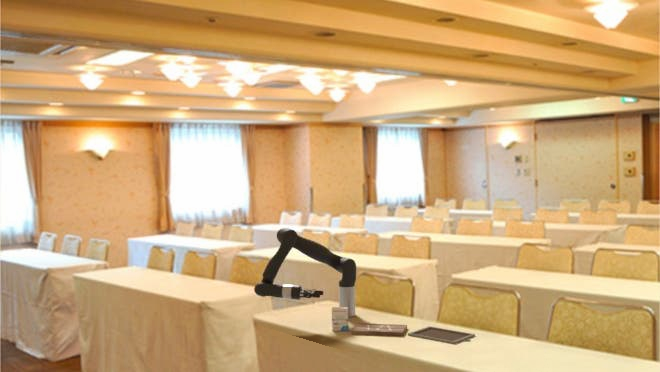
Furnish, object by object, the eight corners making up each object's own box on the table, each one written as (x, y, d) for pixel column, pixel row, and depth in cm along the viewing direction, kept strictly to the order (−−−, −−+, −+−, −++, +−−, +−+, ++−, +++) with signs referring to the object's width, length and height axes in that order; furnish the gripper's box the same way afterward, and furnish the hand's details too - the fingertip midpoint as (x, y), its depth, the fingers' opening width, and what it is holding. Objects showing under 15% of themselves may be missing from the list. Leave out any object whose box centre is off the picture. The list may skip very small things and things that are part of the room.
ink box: (349, 328, 349) (348, 306, 349) (348, 331, 344) (347, 308, 344) (332, 328, 350) (332, 306, 350) (331, 331, 345) (331, 308, 345)
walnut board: (358, 326, 353) (358, 322, 353) (407, 328, 346) (406, 324, 346) (351, 334, 338) (351, 330, 338) (402, 336, 331) (402, 332, 331)
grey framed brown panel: (429, 326, 347) (479, 334, 327) (429, 329, 347) (479, 338, 327) (407, 333, 333) (459, 343, 313) (407, 336, 333) (459, 346, 313)
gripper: (288, 287, 345) (319, 289, 342) (295, 283, 359) (324, 285, 356) (288, 301, 345) (318, 303, 342) (294, 296, 359) (323, 299, 356)
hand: (321, 294), depth 349 cm, fingers open, 8 cm apart
